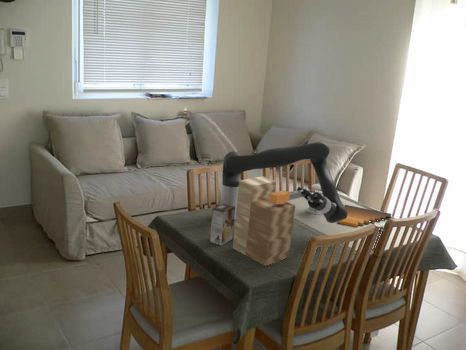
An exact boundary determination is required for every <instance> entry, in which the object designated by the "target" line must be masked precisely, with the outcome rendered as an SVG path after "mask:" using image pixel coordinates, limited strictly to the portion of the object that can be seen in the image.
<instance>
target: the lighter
mask: <svg viewBox="0 0 466 350" xmlns="http://www.w3.org/2000/svg"><path fill="white" fill-rule="evenodd" d="M378 227H379V228H380V230H379V233H378V236H377V239H376V242H375V245H374V248H373V249H376V248H375V246H376V244H377V241H378V239H379V236H380V234H381V232H382V230H384V229H383V227H384V228H385V226H384V225H381V226H378Z"/></svg>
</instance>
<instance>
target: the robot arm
mask: <svg viewBox="0 0 466 350" xmlns="http://www.w3.org/2000/svg"><path fill="white" fill-rule="evenodd" d="M329 156H330V146H329V145H328V144H327V143H326V142H322V141H316V142H312V143H307V144H302V145H301V144H300V145H296V146H295V145H294V146H293V145H292V146H286V147H275V148H269V149H265V150H263V151H260V152H258V153H257V152H256V153H255V154H249V155H247V154H246V155H241V154H240V153H239V152H238V151H229V152H228V153H226V154H225V156H224V157H223V163H222V164H223V165H222V176H221V177H222V179H221V180H222V183H221V194H220V195H221V196H220V198H219V201H218V203H219V204H218V206H219V205H221V204H227V205H231V206H234V207H235V215H234V221H235V220H236V210H237V200H238V190H239V181H240V180H242V173H243V172H248V171H251V170H252V171H253V170H261V169H262V170H263V169H271V168H281V167H285V166H289V165H293V164H294V163H298V162H300V161H303V160H309V161H310V163H311V165H312V167H313V169H314V172H315V174H316V177H317V179H318V182H319V183H318V184H320V186H321V190H320V191H321V192H320V191H319V192H318V191H315V192H314V191H312V192H314V193H312V192H311V191H310V192H309V191H307V190H306V189H305V188H302V187H300V186H298V187H297V188H296V190H301V189H303V191H302V194H304V195H305V196H304V197H302V198H303V199H305V201H307V204H308V207H309V206H310V207H311V208H313V209H314V210H316V211H317V212H320V213H322V214H321V215H323V216H324V219H325V220H326V222H327V223H330V224H334V223H338V221H341V220H344V219H346V218H347V215H348V213H347V210H346V208H345V204H343V202H342V200H341V198H340V196H339V193H338V192H339V191H338V189H337V186H336V184H335V181H334V179H333V177H332V176H331V174H330V171H329V168H328V163H327V162H328V161H327V159H328V157H329ZM321 193H322V194H323V195H322V194H321Z"/></svg>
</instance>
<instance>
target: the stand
mask: <svg viewBox="0 0 466 350" xmlns="http://www.w3.org/2000/svg"><path fill="white" fill-rule="evenodd" d="M276 185H277V181H276V180H274V179H272V178H268V177H266V176H263V175H262V176H256V177H251V178H246V179H241V180H240V181H239V190H238V200H237V210H236V219H235V220H234V229H233V239H232V240H233V241H232V249H233V250H235V251H237V252H239V253H240V252H241V255H245V256H246V257H248V258H249V257H250V258H249V259H251V258H252V259H251V260H253V259H254V260H253V261H255V260H256V261H255V262H257V261H258V262H260V263H262V264H263V265H262V264H261V265H262V266H264V265H265V266H264V267H267V266H266V265H268V266H270V265H269V264H271V265H273V264H272V263H274V264H276V263H278V262H277V261H279V262H281V261H280V260H282V261H284V260H283V259H285V258H287V259H289V255H290V248H291V240H292V231H293V226H294V218H295V212H296V211H295V210H296V205H295V204H293V203H290V202H289V201H287V202H283V203H279V204H274V203H272V202H270V194H271V193H274V192H276ZM285 260H286V259H285ZM258 262H257V263H258ZM275 262H276V263H275ZM260 263H259V264H260Z"/></svg>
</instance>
